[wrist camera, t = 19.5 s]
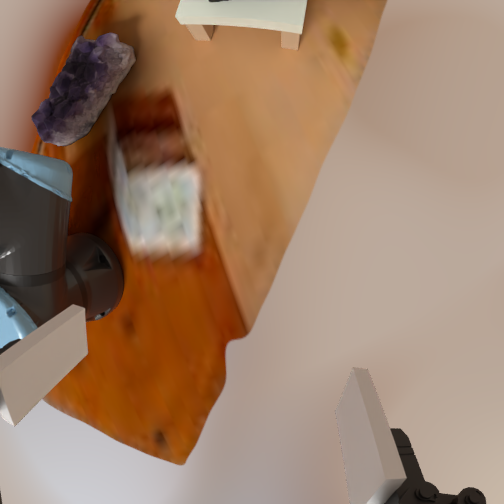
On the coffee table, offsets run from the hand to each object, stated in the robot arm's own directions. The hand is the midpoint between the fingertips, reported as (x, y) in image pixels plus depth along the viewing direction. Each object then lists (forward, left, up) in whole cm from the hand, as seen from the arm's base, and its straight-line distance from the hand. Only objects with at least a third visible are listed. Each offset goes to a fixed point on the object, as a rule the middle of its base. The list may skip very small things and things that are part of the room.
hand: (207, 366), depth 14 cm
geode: (-31, +19, -33) cm, 49 cm away
